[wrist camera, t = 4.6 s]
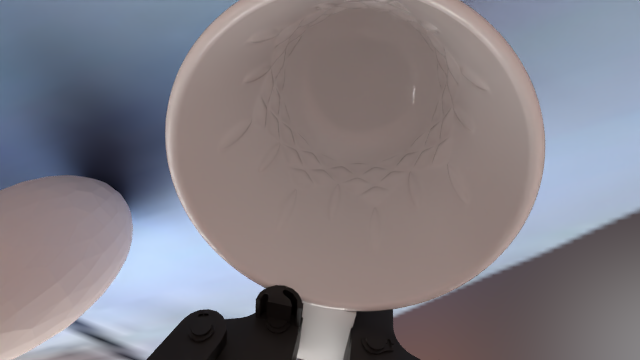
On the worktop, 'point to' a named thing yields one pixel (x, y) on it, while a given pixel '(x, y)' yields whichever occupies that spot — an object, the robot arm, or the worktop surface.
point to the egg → (56, 255)
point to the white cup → (355, 146)
